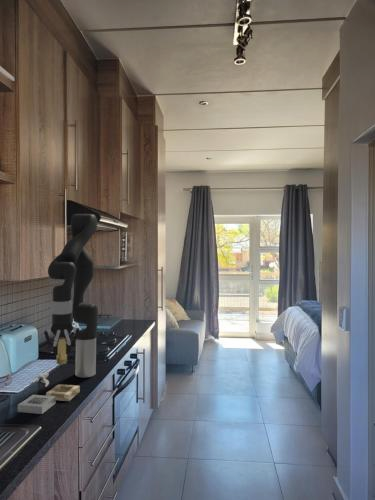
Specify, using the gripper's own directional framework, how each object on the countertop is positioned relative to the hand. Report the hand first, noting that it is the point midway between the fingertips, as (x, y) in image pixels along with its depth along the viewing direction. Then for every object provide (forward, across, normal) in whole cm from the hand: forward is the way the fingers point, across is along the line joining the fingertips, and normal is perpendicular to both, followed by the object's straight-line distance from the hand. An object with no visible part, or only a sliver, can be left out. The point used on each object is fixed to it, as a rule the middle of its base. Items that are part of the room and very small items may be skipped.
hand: (61, 354), depth 145 cm
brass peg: (+3, 0, 0) cm, 3 cm away
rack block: (+17, +1, 0) cm, 17 cm away
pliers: (+18, -9, +20) cm, 28 cm away
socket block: (+16, -9, -8) cm, 20 cm away
